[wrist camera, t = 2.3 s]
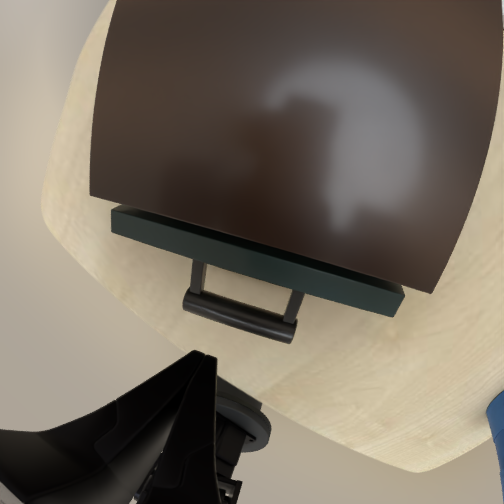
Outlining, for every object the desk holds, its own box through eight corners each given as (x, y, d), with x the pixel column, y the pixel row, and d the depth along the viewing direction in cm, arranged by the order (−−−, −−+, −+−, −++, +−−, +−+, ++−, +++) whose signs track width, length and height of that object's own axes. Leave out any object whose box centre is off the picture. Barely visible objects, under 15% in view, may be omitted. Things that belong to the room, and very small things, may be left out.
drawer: (351, 323, 17) (353, 380, 13) (156, 263, 19) (115, 302, 15) (439, 54, 9) (481, 33, 5) (194, 4, 11) (149, -26, 7)
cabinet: (397, 232, 15) (431, 295, 9) (162, 168, 17) (88, 196, 11) (447, 20, 9) (500, -19, 3) (202, -29, 11) (147, -76, 5)
